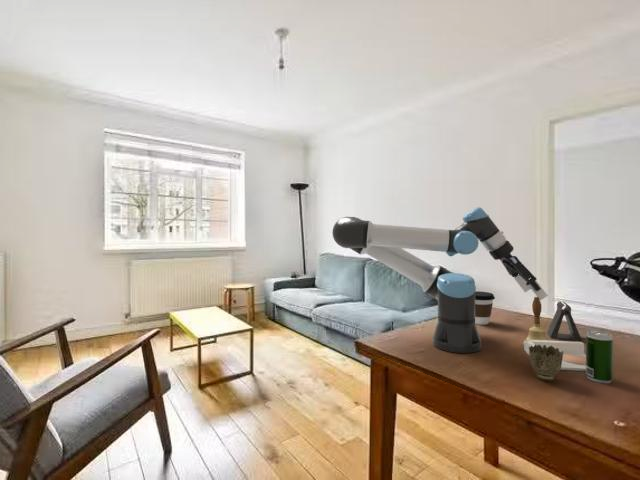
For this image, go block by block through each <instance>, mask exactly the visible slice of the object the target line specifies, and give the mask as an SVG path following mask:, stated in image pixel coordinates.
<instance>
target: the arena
mask: <svg viewBox="0 0 640 480" xmlns="http://www.w3.org/2000/svg"><path fill="white" fill-rule="evenodd" d="M523 342H524V344H523V347H524V349H523V350H524V352H525V353H526V354H527V355H528V356H530V353H529V347H531V345H532V347H534V346H535V344H536V345H541V346H542V348H543V346H544V345H545V346H547V347H550V346H553V347H554V348H555V349H556V348H558V349H559V352H561V351H563V358H562V364H561V369H560V371H561V370H565V371H579V372H580V371H583V372H586V352H585V343H584V342H582V341H571V340H566V341H565V340H548V341H545V340H526V339H524V340H523ZM547 347H546V348H547Z"/></svg>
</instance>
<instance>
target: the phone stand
mask: <svg viewBox="0 0 640 480" xmlns="http://www.w3.org/2000/svg"><path fill="white" fill-rule="evenodd" d="M563 307H564V308H563ZM564 316H565V320H566V324H567V327H568V330H569V333H561V332H559V330H560V328H561V325H562V321H563V320H564ZM546 334H547V335H548V336H549V338H550V339H556V340H563V341H565V340H566V341H574V342H582V337H581V335H580V332H579V330H578V328H577V325H576V324H575V321H574V318H573V316H572V308H571V306H570V305H569V304H567V302H565V301H563V302H562V301H558V302H557V303H556V311H555V313H554V316H553V318H552V320H551V322H550V324H549V326H548V329H547V331H546Z"/></svg>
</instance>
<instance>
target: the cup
mask: <svg viewBox="0 0 640 480" xmlns="http://www.w3.org/2000/svg"><path fill="white" fill-rule="evenodd" d="M546 347H547V346H545V345H544V346H543V348H542V346H541V345H536V344H535V346H534V347H532V345H531V347H529V353H530V355H529V358H530V360H529V361H530V364H531V367H532V369H533V371H535V372H536V373H537V374H536V375H537V378H538V379H539V380H541V381H543V382H553V381H554V379H555V376H556V375H559V373H560V371H561V364H562V358H563V351H561V352H559V349H558V348H556V349H555V348H554V347H553V346H550V347H547V348H546Z"/></svg>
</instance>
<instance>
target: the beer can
mask: <svg viewBox="0 0 640 480" xmlns="http://www.w3.org/2000/svg"><path fill="white" fill-rule="evenodd" d="M586 332H587V333H586V335H585V354H586V371H585V375H586V378H587V379H589V380H590V381H593V382H594V383H599V384H610V383H612V381H613V378H614V370H613V369H614V366H613V365H614V361H613V360H614V338H613V334H611V333H610V332H607V331H603V330H596V329H593V330H592V329H591V330H587V331H586Z"/></svg>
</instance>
